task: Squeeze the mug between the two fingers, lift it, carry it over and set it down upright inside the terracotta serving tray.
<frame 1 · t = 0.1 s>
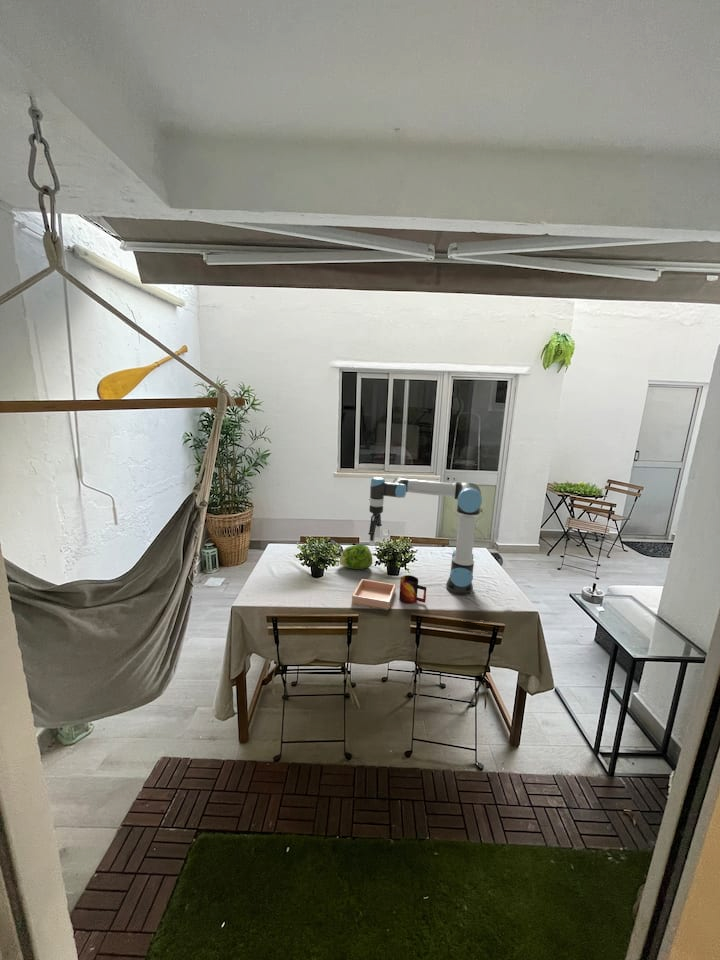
hand: (374, 541, 231), 28 cm above the table, fingers open, 13 cm apart
lettuce: (355, 567, 260), on the table
mug: (411, 599, 224), on the table
tray: (374, 597, 224), on the table
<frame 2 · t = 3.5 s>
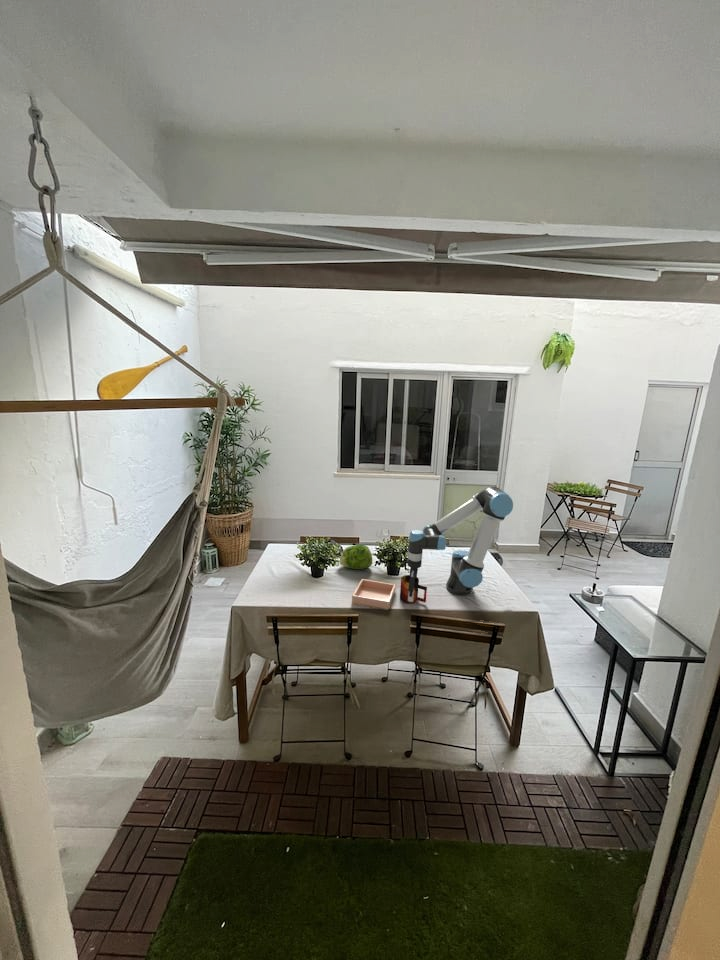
hand: (411, 596, 224), 2 cm above the table, fingers closed on mug, 10 cm apart
mug: (412, 599, 225), on the table, touching gripper
everything else where it was.
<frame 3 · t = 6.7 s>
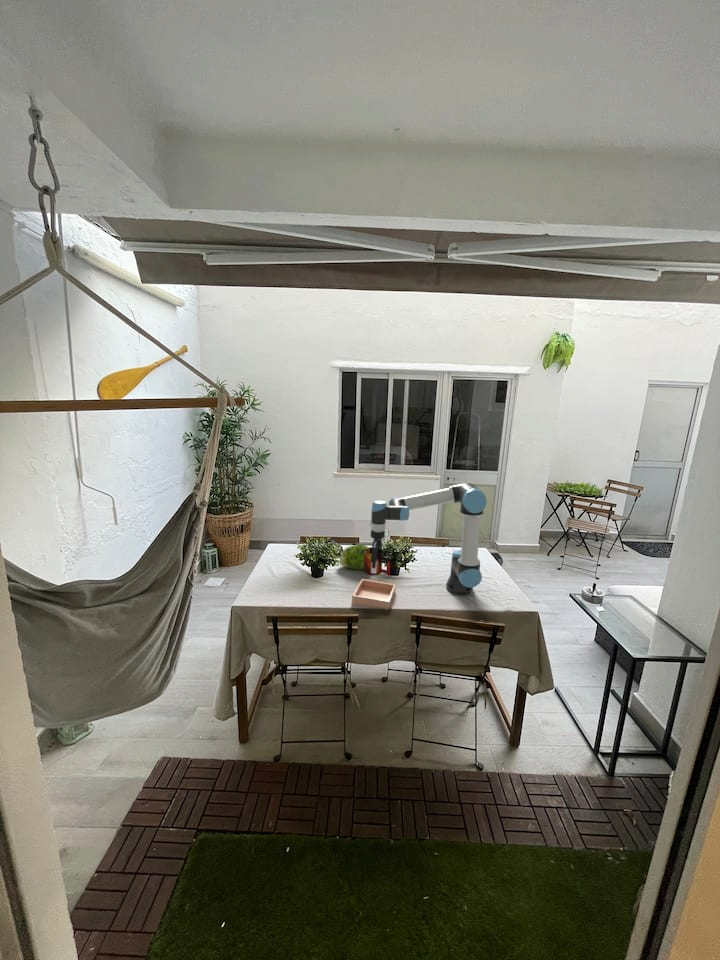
hand: (375, 568, 220), 17 cm above the table, fingers closed on mug, 10 cm apart
mug: (376, 571, 221), point 15 cm above the table, touching gripper
everything else where it was.
when the fingers open (5 cm above the table, at t = 9.7 s): mug drops 3 cm, resting on tray.
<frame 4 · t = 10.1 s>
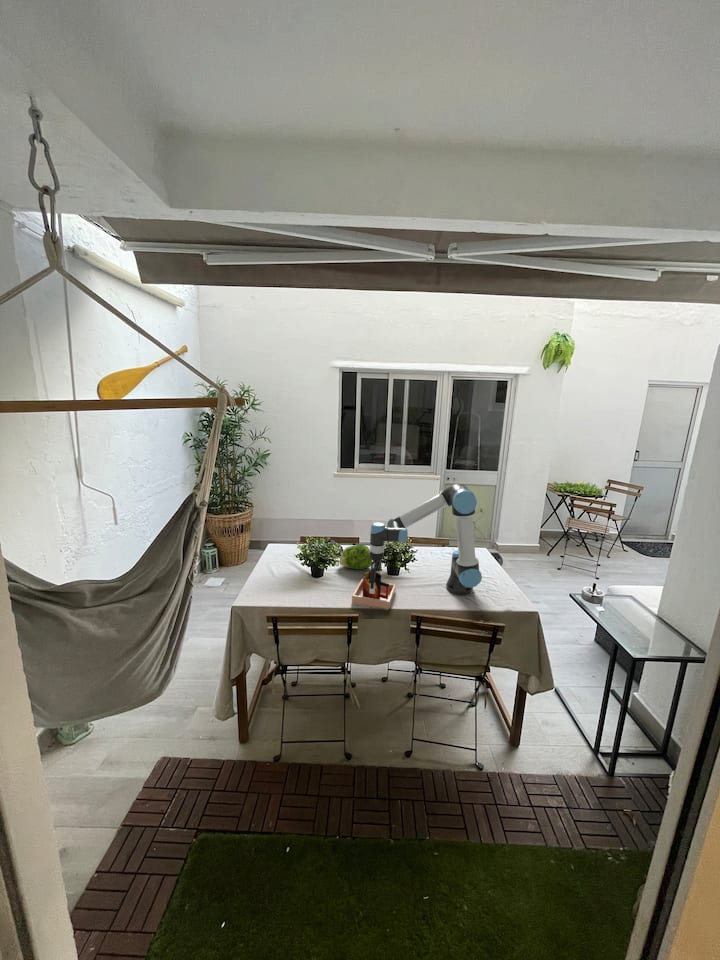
hand: (374, 587, 223), 6 cm above the table, fingers open, 13 cm apart
mug: (375, 596, 225), point 1 cm above the table, touching tray
everything else where it was.
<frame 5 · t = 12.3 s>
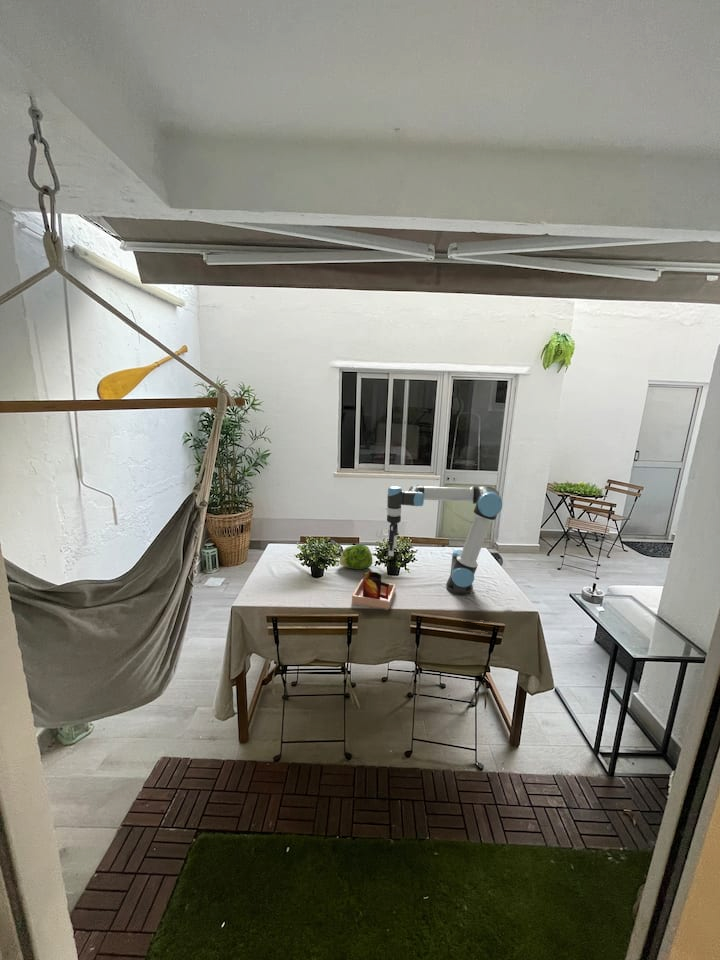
hand: (392, 550, 228), 24 cm above the table, fingers open, 13 cm apart
nothing on the table moved.
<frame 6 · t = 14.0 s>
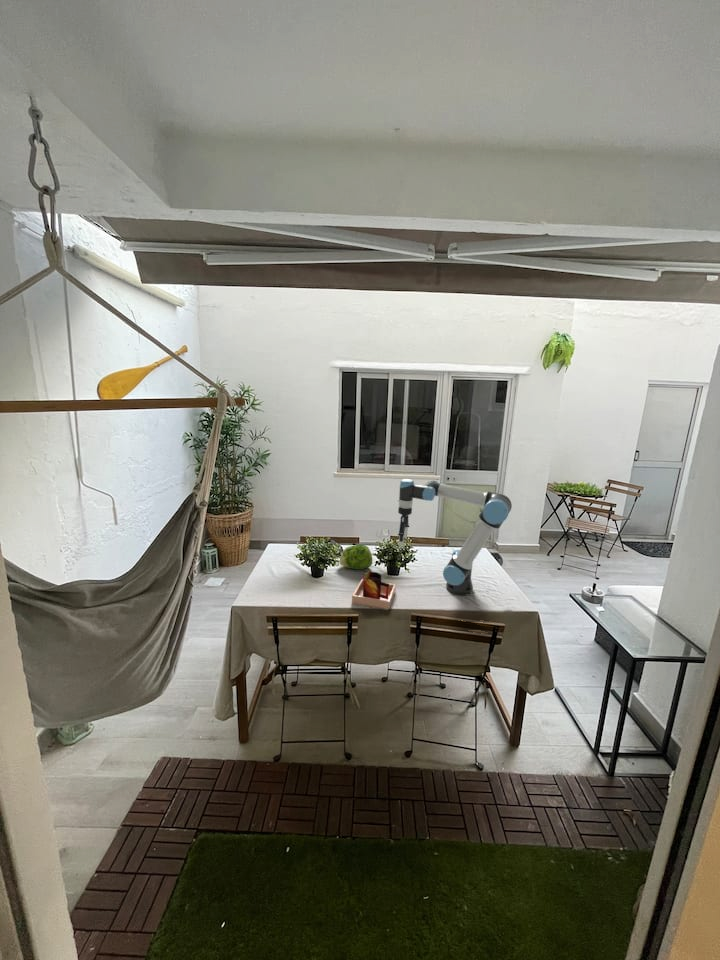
hand: (402, 542, 234), 27 cm above the table, fingers open, 13 cm apart
nothing on the table moved.
at the end: mug inside the target area on the tray (0.7 cm from its centre), point 0.6 cm above the tray's base; mug tilted 0°; the gripper is holding nothing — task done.
